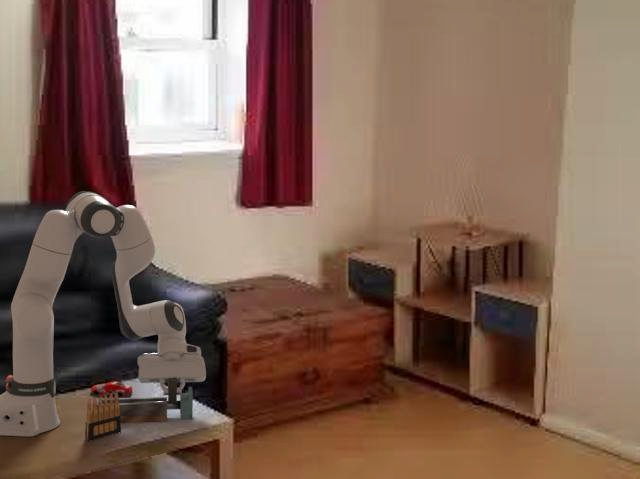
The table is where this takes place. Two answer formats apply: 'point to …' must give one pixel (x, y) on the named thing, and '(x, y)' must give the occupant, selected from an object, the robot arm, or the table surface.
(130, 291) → the robot arm
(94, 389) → the race car
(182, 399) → the socket block
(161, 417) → the channel tray
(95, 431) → the ammunition clip
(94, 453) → the table surface
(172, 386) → the tube
